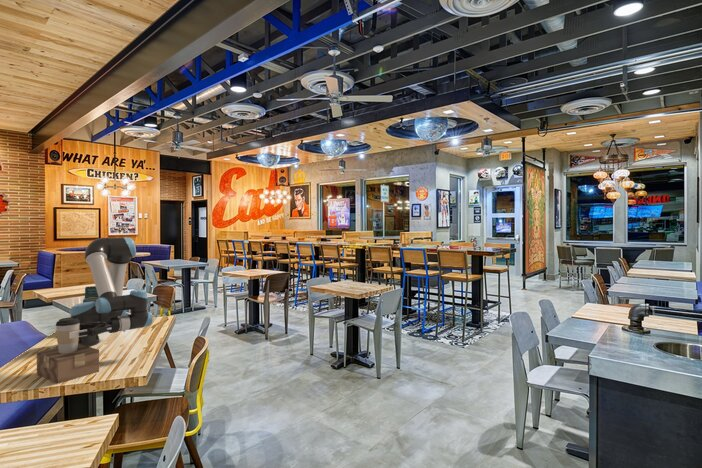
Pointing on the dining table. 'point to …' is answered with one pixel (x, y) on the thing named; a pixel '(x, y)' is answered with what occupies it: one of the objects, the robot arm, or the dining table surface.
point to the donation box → (91, 294)
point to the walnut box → (67, 363)
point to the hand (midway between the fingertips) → (65, 332)
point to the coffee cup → (67, 334)
